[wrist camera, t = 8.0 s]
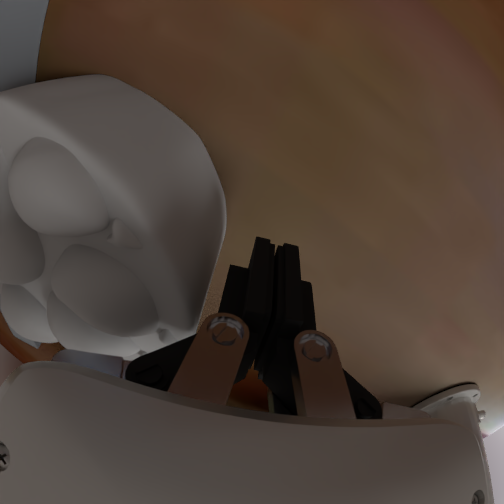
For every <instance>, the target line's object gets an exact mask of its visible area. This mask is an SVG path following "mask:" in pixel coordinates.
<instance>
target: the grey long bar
mask: <svg viewBox="0 0 504 504" xmlns="http://www.w3.org/2000/svg"><path fill="white" fill-rule="evenodd" d="M48 2H49V0H0V92H2V91H6V90H10V89H13V88H17V87H21V86H25V85H29V84H34V83H35V79H36V69H37V60H38V53H39V46H40V40H41V34H42V29H43V24H44V19H45V15H46V10H47V6H48ZM0 297H1V294H0ZM0 310H1V304H0ZM1 312H2V310H1ZM7 324H8V323H7ZM8 326H9V328H10V330H11V331H12V333H13V335H14V336H15V337H17V338H19V339H20V340H22V341H24V342H26V343H28V344H30V345H31V346H33V347H35V348H37V349H38V348H39V346H40V344H41V343H42V342H37V341H32V340H29V339H26V338H24V337H22V336H21V335H19V334H18V333H16V332H15V331H14V330H13V329H12V328H11V327H10V325H9V324H8Z"/></svg>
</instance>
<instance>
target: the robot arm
mask: <svg viewBox="0 0 504 504" xmlns="http://www.w3.org/2000/svg"><path fill="white" fill-rule="evenodd" d="M274 255H275V256H274ZM254 359H255V361H254ZM253 361H254V370H257V371H259V372H258V379H262V381H263V382H264V383H265V384H266V386H267V387H268V392H267V396H268V405H269V413H267V412H260V411H254V410H247V409H241V408H236V407H230V406H226V403H227V400H228V397H229V394H230V391H231V389H232V386H233V385H234V384H235V383H237V382H239V381H241V380H242V379H244V378H245V377H246V374H247V372H248V369H250V368H251V366H252V364H253ZM480 395H481V392H480V389H479V387H478V386H477V385H475V384H466V385H461V386H457V387H454V388H451V389H449V390H446V391H443V392H441V393H439V394H436V395H434V396H432V397H430V398H428V399H426V400H424V401H422V402H421V403H419V404H417V405H415V406H414V407H412V408H409V407H405V406H400V405H396V404H392V403H388V402H383V403H382V404H380V403H379V402H378V400H377V399H376V398H375V397H374V396H373V395H372V394H371V393H370V392H368V391H367V390H366V389H365V388H364V387H363V386H362V385H361V384H359V383H358V382H357V381H356V380H355V379H354V378H353V377H352V376H351V375H349V374H348V373H347V372H346V371H345V370H344V369H343V368H342V365H341V362H340V358H339V355H338V352H337V348H336V346H335V344H334V342H333V341H332V340H331V339H330V338H329V337H328V336H327V335H325V334H324V333H321V332H319V331H316V322H315V312H314V302H313V293H312V285H311V283H310V282H307V281H302V280H301V272H300V260H299V248H298V246H295V245H291V244H287V243H284V245H283V246H279V245H278V247H277V250H276V253H275V244H271V243H270V239H265V238H261V237H256V240H255V244H254V248H253V252H252V255H251V259H250V263H249V267H248V268H243V267H239V266H235V265H230V267H229V271H228V275H227V279H226V283H225V287H224V291H223V295H222V299H221V303H220V307H219V311H218V313H216V314H212V315H210V316H209V317H207V318H206V319H205V320H204V321H203V323H202V325H201V327H200V329H199V331H198V333H196V334H194V335H192V336H189V337H187V338H185V339H182V340H180V341H177V342H175V343H172V344H170V345H168V346H165V347H163V348H160V349H158V350H155V351H153V352H150V353H148V354H145V355H142V356H140V357H138V358H136V359H134V360H132V361H130V360H124V359H123V357H120V356H112V355H105V354H98V353H91V352H85V351H79V350H73V349H64V350H61V351H59V352H57V353H56V354H55V355H54V356H53V358H52V360H51V361H37V362H30V363H26V364H23V365H21V366H19V367H18V368H16V369H15V370H14V371H13V372H12V373H11V374H10V375H9V376H8V377H7V379H6V380H5V381H4V383H3V384H2V386H1V387H0V504H494V499H493V491H492V485H491V478H490V472H489V466H488V461H487V456H486V452H485V447H484V443H483V439H482V435H481V431H480V427H479V423H480V422H481V421H480V419H483V418H484V417H485V411H484V410H482V411H477V408H476V405H475V403H476V402H477V401H478V399H479V398H480Z"/></svg>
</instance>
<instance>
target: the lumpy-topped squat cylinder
mask: <svg viewBox="0 0 504 504" xmlns="http://www.w3.org/2000/svg"><path fill="white" fill-rule="evenodd" d="M225 232H226V202H225V196H224V192H223V189H222V186H221V183H220V180H219V177H218V175H217V172H216V170H215V168H214V165H213V163H212V161H211V158H210V156H209V154H208V152H207V150H206V148H205V146H204V144H203V142H202V141H201V139H200V138H199V136H198V135H197V134H196V133H195V132H194V131H193V130H192V129H191V128H190V127H189V126H188V125H187V124H186V123H185V122H184V121H182V120H181V119H180V118H179V117H178V116H176V115H175V114H174V113H173V112H171V111H170V110H169V109H167V108H166V107H165V106H163V105H162V104H161V103H159V102H158V101H156V100H155V99H153V98H152V97H150V96H149V95H147V94H145V93H144V92H142V91H140V90H138V89H136V88H134V87H132V86H130V85H128V84H126V83H124V82H122V81H121V80H118V79H116V78H114V77H111V76H107V75H101V74H93V75H83V76H75V77H68V78H61V79H55V80H49V81H44V82H39V83H34V84H29V85H25V86H21V87H17V88H13V89H10V90H6V91H2V92H0V294H1V297H0V304H1V310H2V314H3V316H4V318H5V320H6V322H7V323H8V324H9V325H10V327H11V328H12V329H13V330H14V331H15V332H16V333H18V334H19V335H21V336H22V337H24V338H26V339H29V340H32V341H37V342H43V343H55V342H58V341H59V342H60V344H61V345H63V346H64V347H65V348H66V349H73V350H79V351H85V352H91V353H98V354H105V355H112V356H120V357H123V359H124V360H130V361H132V360H134V359H136V358H138V357H140V356H142V355H145V354H148V353H150V352H153V351H155V350H158V349H160V348H163V347H165V346H168V345H170V344H172V343H175V342H177V341H180V340H182V339H185V338H187V337H189V336H192V335H194V334H196V330H197V327H198V324H199V320H200V317H201V314H202V310H203V307H204V303H205V300H206V296H207V293H208V290H209V286H210V283H211V280H212V276H213V273H214V270H215V266H216V263H217V260H218V256H219V253H220V250H221V247H222V243H223V240H224V237H225Z"/></svg>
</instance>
